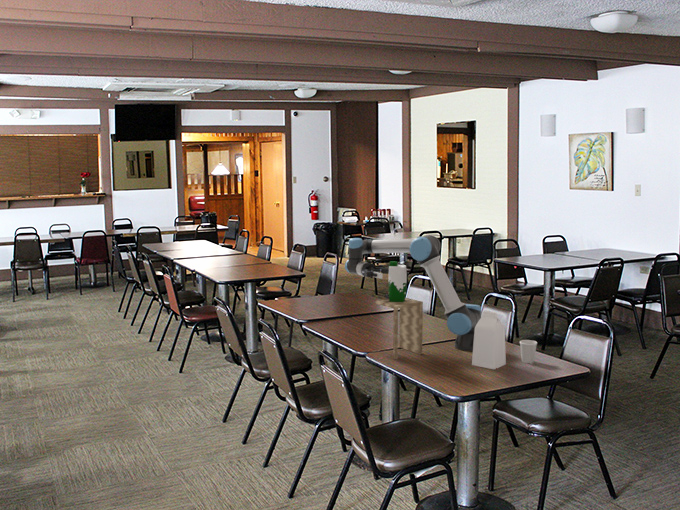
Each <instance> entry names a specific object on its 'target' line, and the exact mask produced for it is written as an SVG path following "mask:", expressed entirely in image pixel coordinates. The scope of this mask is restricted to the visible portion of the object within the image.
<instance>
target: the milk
mask: <svg viewBox="0 0 680 510" xmlns="http://www.w3.org/2000/svg"><path fill="white" fill-rule="evenodd" d="M506 357H507V355H506V328H505V325H504V323H503V322H502V321H501V319H500V318H499V317H498V313H497V312H496V311H489V310H484V311H483V313H482V314H481V318H480V320H479V321H478V323H477V324H476V326H475V330H474V343H473V351H472V357H471V366H475V367H481V368H485V369H490V370H496V368H497V369H499V368H500V367H503V366H506V363H507V359H506Z"/></svg>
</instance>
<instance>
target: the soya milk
mask: <svg viewBox="0 0 680 510" xmlns="http://www.w3.org/2000/svg"><path fill="white" fill-rule="evenodd" d="M388 268H389V274H388V289H387V290H388V299H389V302H404V300H405V298H407V297H406V296H407V287H408V286H407V285H408V284H407V282H408V280H407V279H408V277H407V276H408V273H407V265H405V264H398V261H396V260H390V261H389V266H388Z"/></svg>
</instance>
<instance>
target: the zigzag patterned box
mask: <svg viewBox="0 0 680 510" xmlns="http://www.w3.org/2000/svg"><path fill="white" fill-rule="evenodd" d="M374 303H375V305H379V306H382V307H385V308H386V307H387V308H390V309H393V319H392V320H393V327H392V329H393V331H392V332H393V335H392V337H393V338H392V339H393V340H392V341H393V342H392V343H393V344H392V345H393V346H392V347H393V348H392V351H393V352H392V359H394V360H397V359H398V347H399V348H401V349H404V350H406V351H408V352H412V353H415V354H419V355H422V354H423V325H424V324H423V320H424V319H423V316H424V315H423V313H424V312H423V311H424V308H423V307H424V306H423V305H424V302H423V301H422V300H417V299H412V298H409V297H405V300H404V302H389V298H386V299H385V298H384V299H378V300H375V301H374ZM398 318H399V319H398ZM398 322H399V323H398ZM398 324H399V325H398ZM398 326H399V327H398ZM398 332H399V333H398ZM398 334H399V338H398ZM398 340H399V344H398ZM398 345H399V346H398Z"/></svg>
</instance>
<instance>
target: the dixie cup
mask: <svg viewBox="0 0 680 510" xmlns="http://www.w3.org/2000/svg"><path fill="white" fill-rule="evenodd" d="M519 345H520V356H521V362H522V363H524V364H528V363H530V364H534V363H535V356H536V352H537V345H538V342H537V341H536V340H533V339H532V340H530V339H522V340H519Z"/></svg>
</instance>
